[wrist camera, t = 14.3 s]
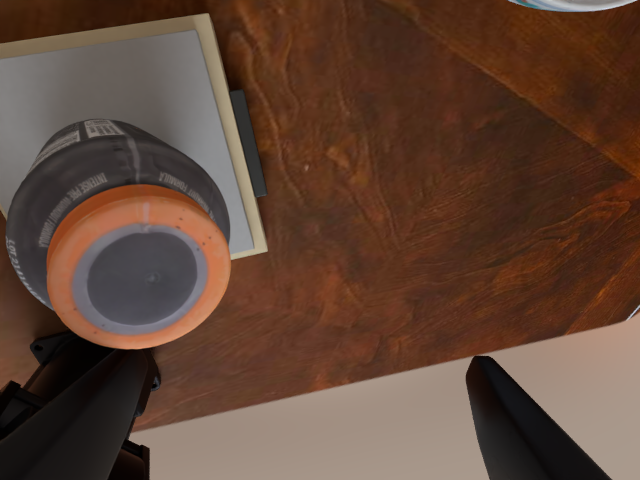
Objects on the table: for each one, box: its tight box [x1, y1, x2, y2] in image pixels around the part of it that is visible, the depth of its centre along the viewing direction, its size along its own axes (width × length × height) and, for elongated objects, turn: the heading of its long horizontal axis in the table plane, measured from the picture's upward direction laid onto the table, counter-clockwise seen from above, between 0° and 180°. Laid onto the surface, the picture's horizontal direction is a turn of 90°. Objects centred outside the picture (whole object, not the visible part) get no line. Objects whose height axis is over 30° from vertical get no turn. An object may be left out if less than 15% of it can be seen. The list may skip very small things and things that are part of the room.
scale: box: [0, 13, 268, 260], centre depth 19 cm, size 14×13×3 cm
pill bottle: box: [6, 119, 231, 349], centre depth 12 cm, size 6×6×11 cm
